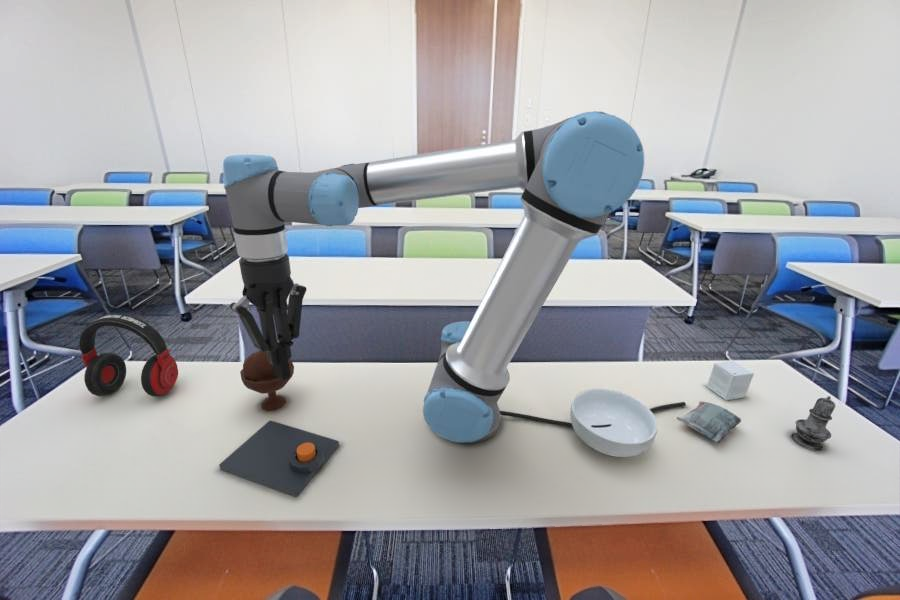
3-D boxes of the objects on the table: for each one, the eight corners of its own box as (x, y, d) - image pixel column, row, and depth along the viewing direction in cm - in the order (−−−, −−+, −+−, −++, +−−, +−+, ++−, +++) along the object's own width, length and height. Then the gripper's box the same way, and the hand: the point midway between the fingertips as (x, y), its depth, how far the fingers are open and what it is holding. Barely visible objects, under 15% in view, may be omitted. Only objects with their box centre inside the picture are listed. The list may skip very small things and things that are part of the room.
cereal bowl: (557, 412, 92) (562, 386, 89) (628, 413, 92) (635, 388, 90) (580, 470, 76) (586, 441, 74) (665, 471, 77) (675, 443, 74)
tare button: (319, 452, 75) (318, 445, 74) (308, 464, 72) (307, 457, 72) (305, 447, 76) (304, 440, 75) (293, 459, 73) (292, 452, 73)
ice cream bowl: (306, 391, 96) (298, 336, 90) (284, 422, 86) (274, 363, 80) (264, 387, 97) (254, 333, 91) (237, 417, 87) (224, 359, 81)
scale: (341, 447, 80) (340, 435, 79) (299, 498, 69) (297, 486, 68) (270, 425, 85) (268, 414, 84) (220, 470, 74) (217, 458, 73)
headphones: (83, 405, 89) (50, 326, 81) (116, 379, 98) (89, 306, 90) (164, 405, 90) (139, 327, 82) (189, 380, 99) (169, 307, 91)
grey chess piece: (824, 456, 82) (849, 409, 77) (788, 441, 85) (810, 396, 81) (824, 441, 86) (849, 396, 81) (790, 428, 89) (811, 384, 85)
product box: (745, 398, 99) (755, 373, 96) (725, 401, 98) (734, 376, 95) (724, 383, 105) (733, 360, 102) (705, 386, 103) (713, 362, 100)
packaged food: (673, 426, 89) (679, 408, 87) (698, 407, 95) (705, 390, 93) (715, 451, 82) (723, 432, 80) (739, 429, 89) (747, 411, 87)
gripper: (286, 243, 72) (301, 355, 81) (211, 259, 62) (238, 384, 72) (311, 251, 68) (324, 368, 77) (235, 270, 58) (260, 401, 68)
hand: (282, 375), depth 74 cm, fingers closed
